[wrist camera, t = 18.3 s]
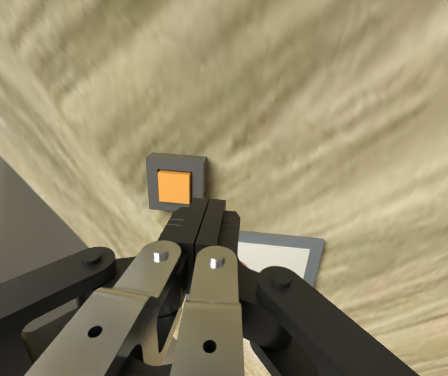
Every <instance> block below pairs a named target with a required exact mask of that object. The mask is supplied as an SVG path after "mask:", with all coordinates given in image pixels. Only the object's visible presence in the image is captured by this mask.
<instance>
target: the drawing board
mask: <svg viewBox="0 0 448 376" xmlns="http://www.w3.org/2000/svg"><path fill="white" fill-rule="evenodd" d="M324 243H325V242H324V240H323V239H319V238H309V237H299V236H288V235H278V234H268V233H258V232H247V231H239V240H238V258H239V260H240V262H241V263H242V264H243V265H244V266H246V267H247V268H249V269H251V270H254V271H257V272H259V273H260V272H261V270H263V269H264V268H266V267H270V266H281V267H285V268H288V269H290V270H292V271H294V272H295V273H296V274H298V275H299V276H300V277H301V278H302V279H304V280H305V281H306V282H307V283H308V284H310V285H311V286H312V287H313V286H314V282H315V278H316V274H317V270H318V266H319V262H320V259H321V255H322V251H323V247H324ZM188 299H189V294H186V300H188Z"/></svg>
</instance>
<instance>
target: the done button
mask: <svg viewBox="0 0 448 376" xmlns="http://www.w3.org/2000/svg"><path fill="white" fill-rule="evenodd" d="M158 189H159V201H161V202H172V203H183V204H190V201H191V199H192V172H187V171H175V170H163V169H161V170H160V171H159V172H158Z"/></svg>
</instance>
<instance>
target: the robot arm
mask: <svg viewBox="0 0 448 376" xmlns="http://www.w3.org/2000/svg"><path fill="white" fill-rule="evenodd" d="M239 227H240V217H239V215H238V214H237V212H235V211H226V200H218V199H206V198H195V197H194V198H193V200H192V202H191V204H190V206H189V207H180V208H179V209H177V210H176V211H174V212H173V214H172V216H171V218H170V219H169V221H168V223H167V225H166V226H165V228H164V230H163V232H162V233H161V235H160V237H159V239H158V241H155V242H152V243H150V244H148V245H146V246H145V247H144V248H143V249H142V250H141V251H140V252H139V254H138V255H137V256H135V257H129V258H121V259H115V254H114V252H113V251H112V250H111V249H109V248H106V247H93V248H88V249H85V250H83V251H80V252H78V253H75V254H73V255H70V256H68V257H65V258H63V259H60V260H58V261H55V262H53V263H51V264H48V265H45V266H43V267H40V268H38V269H35V270H33V271H30V272H28V273H25V274H23V275H21V276H18V277H16V278H13V279H11V280H8V281H6V282H3V283H1V284H0V376H244V355H243V338H245V339H247V340H250V345H251V347H252V349H253V351H254V352H255V354H256V355H257V356H258V358H259V359H260V361H261V362H262V363H263V365H264V366H265V367H266V369H267V370H268V372H269V373H270V374H271V376H419V375H418V374H417V373H416V372H414V371H413V370H412V369H411V368H410V367H408V366H407V365H406V364H405V363H404V362H402V361H401V360H400V359H399V358H398V357H396V356H395V355H394V354H393V353H392V352H390V351H389V350H388V349H387V348H386V347H384V346H383V345H382V344H381V343H380V342H378V341H377V340H376V339H375V338H373V337H372V336H371V335H370V334H369V333H367V332H366V331H365V330H364V329H363V328H361V327H360V326H359V325H358V324H357V323H355V322H354V321H353V320H352V319H351V318H349V317H348V316H347V315H346V314H345V313H343V312H342V311H341V310H340V309H339V308H337V307H336V306H335V305H334V304H333V303H331V302H330V301H329V300H328V299H326V298H325V297H324V296H323V295H322V294H320V293H319V292H318V291H317V290H316V289H314V288H313V287H312V286H311V285H310V284H308V283H307V282H306V281H305V280H304V279H302V278H301V277H300V276H299V275H298V274H296V273H295V272H294V271H292V270H290V269H288V268H285V267H281V266H270V267H266V268H264V269H263V270H261V272H260V273H259V272H257V271H254V270H251V269H249V268H247V267H246V266H244V265H243V264H242V263H241V262H240V260H239V258H238V240H239ZM185 294H189V299H188V300H186V301H185V304H184V308H183V313H182V304H183V301H184V298H185ZM73 299H76V303H77V307H78V308H76V309H74V310H72V311H70V312H68V313H66V314H65V315H63V316H61V317H59V318H57V319H55V320H54V321H52V322H50V323H48V324H46V325H44V326H42V327H40V328H39V329H37V330H35V331H32V332H27V333H26V332H22V330H23V329H24V327H25V326H26V325H27V324H28V323H29V322H31V321H32V320H34V319H36V318H38V317H40V316H42V315H44V314H46V313H47V312H49V311H51V310H53V309H55V308H57V307H59V306H61V305H63V304H65V303H67V302H69V301H71V300H73ZM181 313H182V318H181V323H180V328H179V333H178V338H177V343H176V348H175V353H174V358H173V363H172V364H168V365H162V363H163V360H164V357H165V354H166V352H167V350H168V347H169V344H170V341H171V339H172V337H173V334H174V331H175V329H176V326H177V324H178V321H179V318H180V316H181Z"/></svg>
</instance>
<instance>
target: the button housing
mask: <svg viewBox="0 0 448 376" xmlns="http://www.w3.org/2000/svg"><path fill="white" fill-rule="evenodd" d="M146 168H147V182H148V195H149V208H150V209H155V210H166V211H176V210H177V209H179V208H180V207H189V206H190V204H191V202H192V200H193V198H194V197H195V198H205V190H206V157H202V156H189V155H176V154H164V153H151V154H150V155H149V156H147V157H146ZM161 169H163V170H175V171H187V172H192V199H191V201H190V204H183V203H172V202H161V201H159V189H158V172H159V171H160V170H161Z"/></svg>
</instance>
